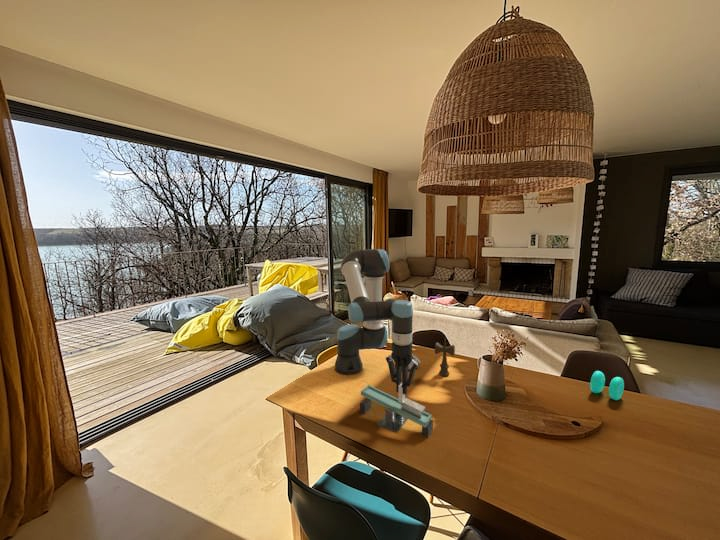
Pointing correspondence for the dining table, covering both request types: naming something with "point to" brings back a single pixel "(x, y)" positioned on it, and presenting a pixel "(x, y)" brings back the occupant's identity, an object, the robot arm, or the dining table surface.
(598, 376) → the teal egg pair
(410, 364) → the decorative stone
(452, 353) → the kendama
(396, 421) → the stand
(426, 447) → the dining table surface
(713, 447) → the dining table surface
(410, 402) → the block
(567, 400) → the dining table surface
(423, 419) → the beam
